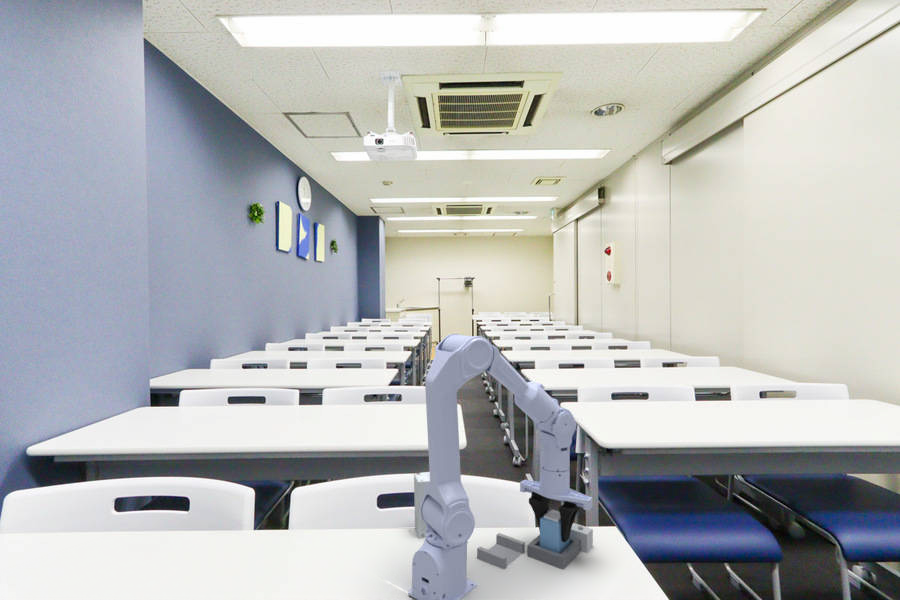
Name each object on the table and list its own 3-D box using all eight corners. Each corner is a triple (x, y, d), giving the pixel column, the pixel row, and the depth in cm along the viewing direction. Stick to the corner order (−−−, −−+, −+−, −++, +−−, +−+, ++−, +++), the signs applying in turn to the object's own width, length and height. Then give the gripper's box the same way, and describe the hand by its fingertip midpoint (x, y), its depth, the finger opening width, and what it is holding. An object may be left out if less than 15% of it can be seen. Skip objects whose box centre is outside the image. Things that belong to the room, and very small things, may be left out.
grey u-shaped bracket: (503, 571, 85) (503, 559, 85) (477, 560, 88) (477, 548, 89) (524, 553, 91) (524, 542, 91) (498, 543, 95) (498, 532, 95)
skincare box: (438, 538, 97) (438, 480, 97) (417, 540, 96) (417, 482, 96) (432, 525, 103) (433, 470, 103) (413, 527, 102) (413, 472, 102)
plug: (558, 556, 87) (558, 522, 88) (539, 549, 90) (540, 515, 90) (569, 546, 91) (569, 513, 91) (551, 539, 94) (551, 507, 94)
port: (569, 574, 84) (569, 550, 84) (521, 555, 90) (521, 533, 90) (592, 548, 93) (592, 527, 93) (547, 533, 99) (547, 513, 99)
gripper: (598, 469, 90) (597, 539, 89) (531, 454, 98) (531, 518, 98) (584, 480, 84) (584, 554, 84) (515, 463, 93) (514, 530, 93)
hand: (554, 536), depth 91 cm, fingers closed on plug, 4 cm apart
